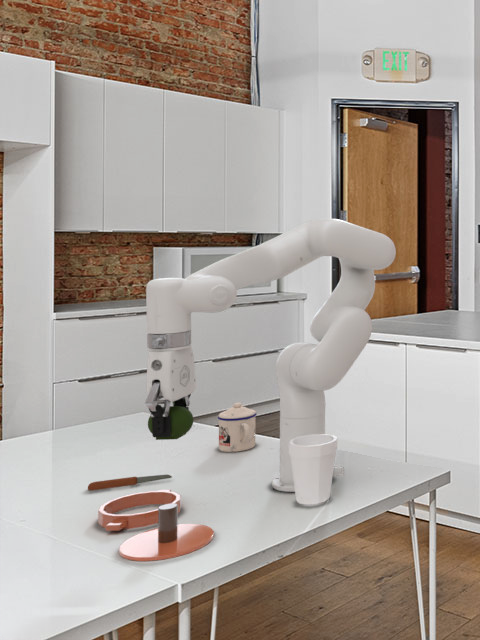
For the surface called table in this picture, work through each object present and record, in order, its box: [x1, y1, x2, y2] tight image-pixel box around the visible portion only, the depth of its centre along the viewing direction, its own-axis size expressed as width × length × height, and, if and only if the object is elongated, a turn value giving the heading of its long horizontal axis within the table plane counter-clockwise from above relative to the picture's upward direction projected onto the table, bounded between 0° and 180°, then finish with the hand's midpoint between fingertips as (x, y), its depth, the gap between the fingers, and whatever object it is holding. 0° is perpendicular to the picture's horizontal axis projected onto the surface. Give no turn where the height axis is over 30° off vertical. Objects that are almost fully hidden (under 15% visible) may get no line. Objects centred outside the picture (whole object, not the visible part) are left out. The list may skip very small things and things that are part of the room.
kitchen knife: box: [87, 474, 173, 491], centre depth 163 cm, size 16×1×2 cm, turn 119°
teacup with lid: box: [217, 402, 257, 453], centre depth 192 cm, size 12×9×12 cm
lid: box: [118, 504, 215, 562], centre depth 132 cm, size 15×15×7 cm
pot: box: [97, 489, 182, 532], centre depth 145 cm, size 14×19×3 cm
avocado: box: [147, 405, 194, 441], centre depth 145 cm, size 8×6×6 cm
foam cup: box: [289, 433, 338, 506], centre depth 154 cm, size 10×9×13 cm
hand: (171, 430), depth 145 cm, fingers closed on avocado, 6 cm apart
